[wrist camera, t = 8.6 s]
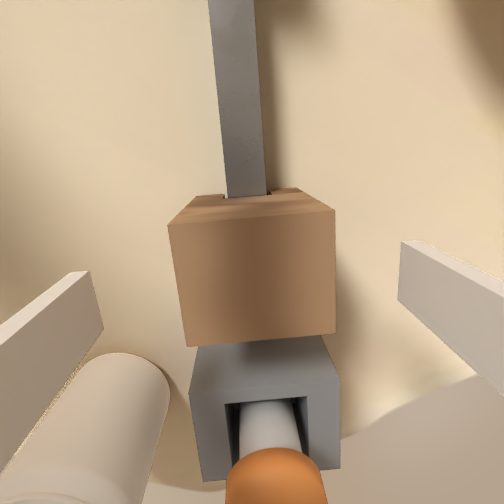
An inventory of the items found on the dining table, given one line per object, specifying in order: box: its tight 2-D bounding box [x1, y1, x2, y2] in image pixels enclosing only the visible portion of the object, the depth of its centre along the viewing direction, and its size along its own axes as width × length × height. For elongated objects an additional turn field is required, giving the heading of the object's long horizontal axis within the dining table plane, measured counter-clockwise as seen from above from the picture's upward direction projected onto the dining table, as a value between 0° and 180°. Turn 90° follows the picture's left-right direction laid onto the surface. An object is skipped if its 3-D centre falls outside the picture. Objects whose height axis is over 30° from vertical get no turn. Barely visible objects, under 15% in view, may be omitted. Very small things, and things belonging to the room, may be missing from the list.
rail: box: [208, 0, 267, 199], centre depth 20 cm, size 5×29×6 cm, turn 5°
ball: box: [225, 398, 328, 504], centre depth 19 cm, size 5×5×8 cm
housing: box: [188, 335, 340, 482], centre depth 24 cm, size 9×7×8 cm
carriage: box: [167, 188, 336, 347], centre depth 19 cm, size 7×6×10 cm
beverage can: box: [0, 353, 170, 504], centre depth 22 cm, size 8×8×12 cm
